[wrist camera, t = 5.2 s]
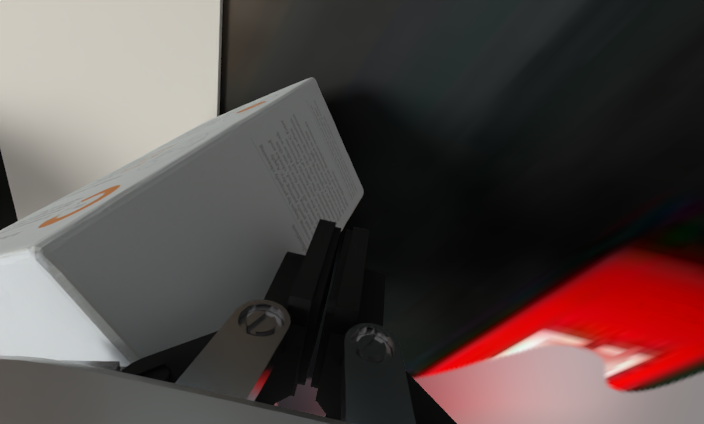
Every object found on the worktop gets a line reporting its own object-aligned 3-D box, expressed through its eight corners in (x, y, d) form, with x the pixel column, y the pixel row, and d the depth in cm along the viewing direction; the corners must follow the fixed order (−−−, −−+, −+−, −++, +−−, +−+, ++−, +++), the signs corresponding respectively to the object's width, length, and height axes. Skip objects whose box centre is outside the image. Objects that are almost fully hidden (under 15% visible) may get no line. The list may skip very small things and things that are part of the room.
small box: (252, 220, 23) (48, 426, 13) (196, 124, 21) (-115, 284, 10) (369, 194, 19) (213, 458, 9) (318, 72, 17) (19, 244, 6)
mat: (224, -59, 17) (221, -61, 17) (214, 287, 26) (212, 289, 26) (-60, -120, 17) (-67, -123, 17) (27, 243, 26) (24, 245, 26)
